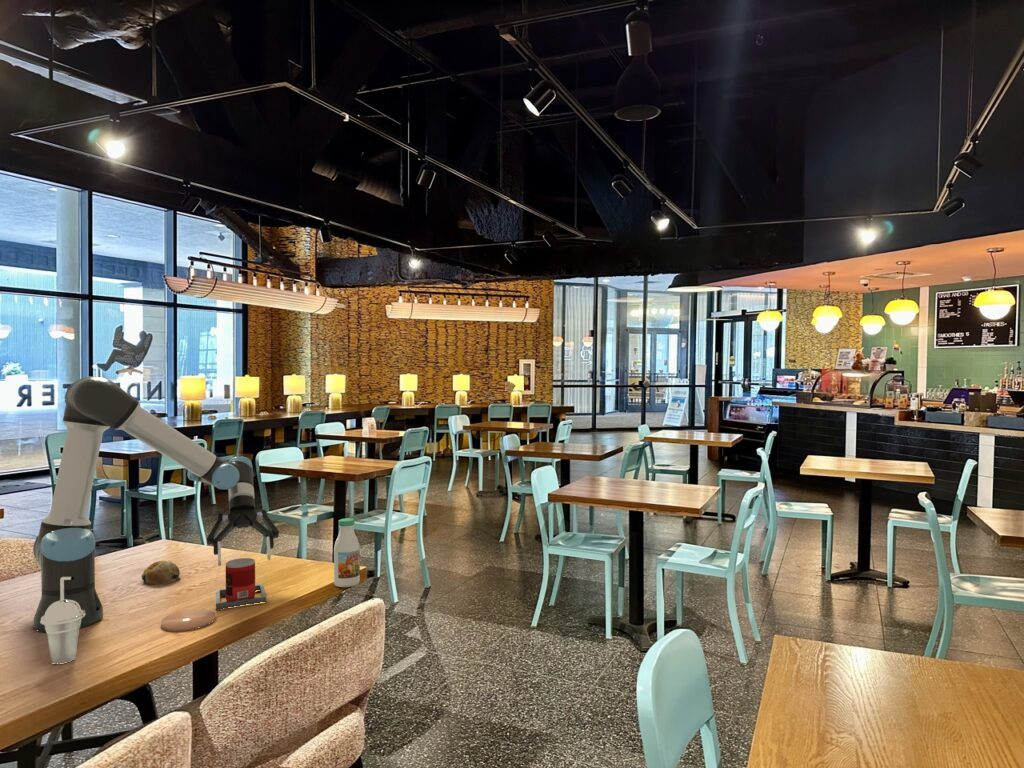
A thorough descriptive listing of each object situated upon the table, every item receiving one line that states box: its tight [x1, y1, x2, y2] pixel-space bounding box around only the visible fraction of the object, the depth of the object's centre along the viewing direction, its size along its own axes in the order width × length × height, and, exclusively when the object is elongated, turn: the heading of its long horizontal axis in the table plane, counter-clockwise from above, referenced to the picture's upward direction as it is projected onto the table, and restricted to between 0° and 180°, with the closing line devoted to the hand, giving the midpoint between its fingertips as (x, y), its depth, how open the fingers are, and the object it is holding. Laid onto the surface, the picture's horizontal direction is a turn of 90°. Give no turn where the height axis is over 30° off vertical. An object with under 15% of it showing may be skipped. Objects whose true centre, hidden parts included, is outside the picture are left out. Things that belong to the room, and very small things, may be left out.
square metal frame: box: [215, 583, 267, 611], centre depth 190 cm, size 13×13×2 cm
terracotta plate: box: [160, 608, 217, 632], centre depth 173 cm, size 13×13×1 cm
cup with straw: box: [40, 577, 86, 664], centre depth 149 cm, size 8×9×20 cm
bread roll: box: [140, 560, 181, 586], centre depth 208 cm, size 10×10×8 cm
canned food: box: [225, 557, 256, 601], centre depth 190 cm, size 8×8×11 cm
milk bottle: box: [333, 517, 361, 588], centre depth 204 cm, size 8×8×20 cm
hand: (244, 560), depth 195 cm, fingers open, 13 cm apart
